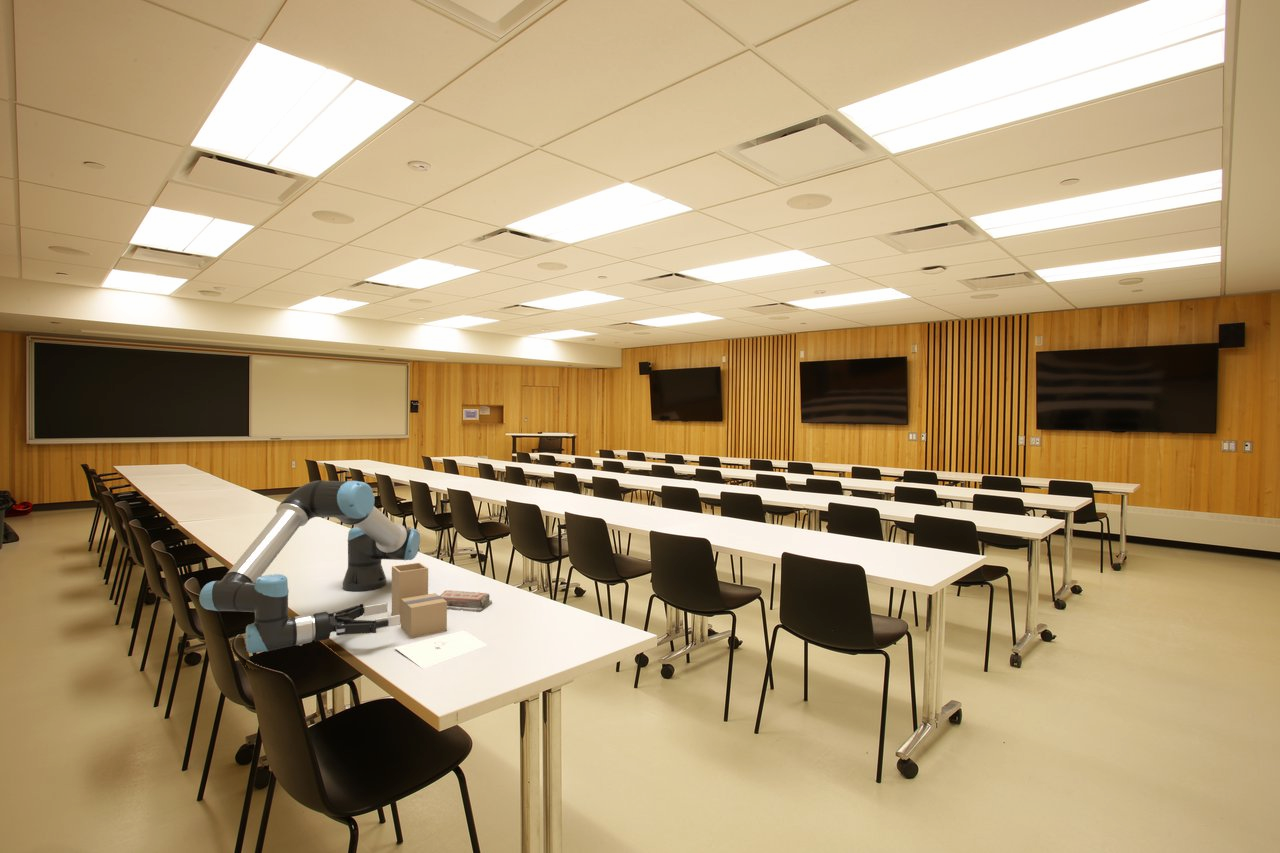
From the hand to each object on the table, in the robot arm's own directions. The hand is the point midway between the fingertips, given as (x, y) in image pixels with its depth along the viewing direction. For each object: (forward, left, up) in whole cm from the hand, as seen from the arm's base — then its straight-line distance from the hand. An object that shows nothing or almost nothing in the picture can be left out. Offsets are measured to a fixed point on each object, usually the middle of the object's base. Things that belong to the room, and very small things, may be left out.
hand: (393, 613), depth 178 cm
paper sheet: (+24, +9, -7) cm, 27 cm away
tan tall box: (-15, +9, -7) cm, 19 cm away
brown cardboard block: (0, +9, -7) cm, 11 cm away
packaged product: (-16, +27, -7) cm, 32 cm away
